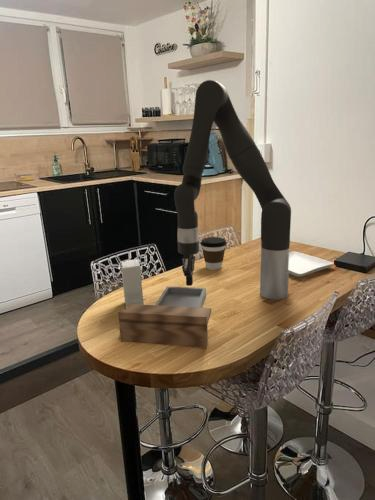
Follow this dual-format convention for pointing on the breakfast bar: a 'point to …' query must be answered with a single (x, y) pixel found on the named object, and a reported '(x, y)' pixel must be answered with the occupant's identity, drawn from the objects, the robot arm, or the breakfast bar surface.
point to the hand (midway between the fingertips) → (189, 284)
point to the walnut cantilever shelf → (164, 325)
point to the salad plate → (305, 264)
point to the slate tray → (182, 297)
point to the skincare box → (132, 282)
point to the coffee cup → (213, 252)
